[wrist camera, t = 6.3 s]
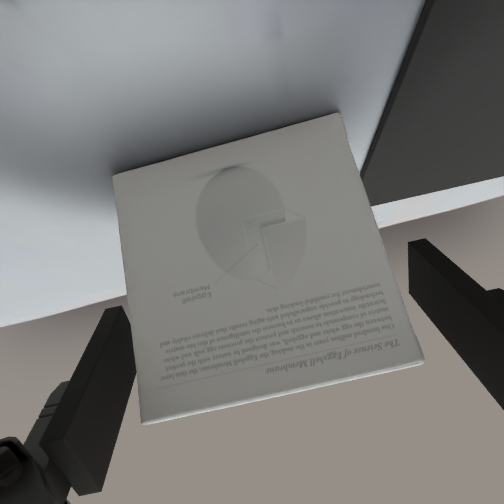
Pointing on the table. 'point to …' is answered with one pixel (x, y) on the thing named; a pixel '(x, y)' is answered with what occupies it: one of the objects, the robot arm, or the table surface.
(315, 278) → the cosmetics box
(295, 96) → the table surface
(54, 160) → the table surface
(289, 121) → the table surface
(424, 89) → the corner mat
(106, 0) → the table surface
